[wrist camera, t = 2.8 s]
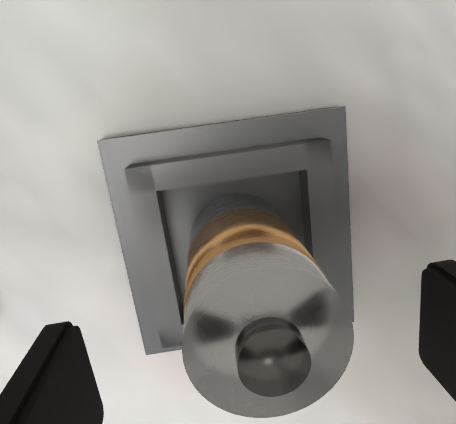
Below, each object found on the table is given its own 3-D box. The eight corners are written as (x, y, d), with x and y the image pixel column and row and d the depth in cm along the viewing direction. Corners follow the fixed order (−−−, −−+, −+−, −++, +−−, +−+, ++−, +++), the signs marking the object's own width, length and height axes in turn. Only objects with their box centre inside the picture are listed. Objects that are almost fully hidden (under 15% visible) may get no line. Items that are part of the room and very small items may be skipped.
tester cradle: (347, 312, 22) (365, 337, 20) (148, 343, 22) (141, 373, 19) (337, 106, 19) (358, 106, 16) (102, 139, 18) (87, 143, 16)
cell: (289, 276, 20) (369, 425, 11) (197, 290, 20) (195, 455, 10) (281, 185, 19) (364, 265, 9) (181, 200, 18) (162, 296, 9)
